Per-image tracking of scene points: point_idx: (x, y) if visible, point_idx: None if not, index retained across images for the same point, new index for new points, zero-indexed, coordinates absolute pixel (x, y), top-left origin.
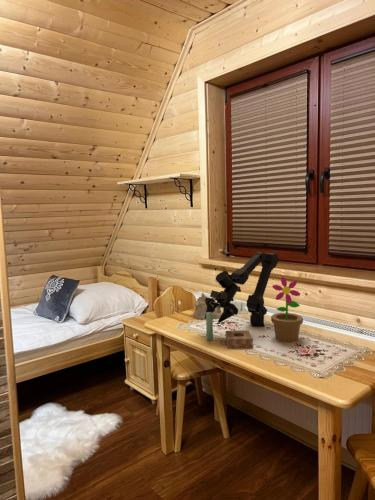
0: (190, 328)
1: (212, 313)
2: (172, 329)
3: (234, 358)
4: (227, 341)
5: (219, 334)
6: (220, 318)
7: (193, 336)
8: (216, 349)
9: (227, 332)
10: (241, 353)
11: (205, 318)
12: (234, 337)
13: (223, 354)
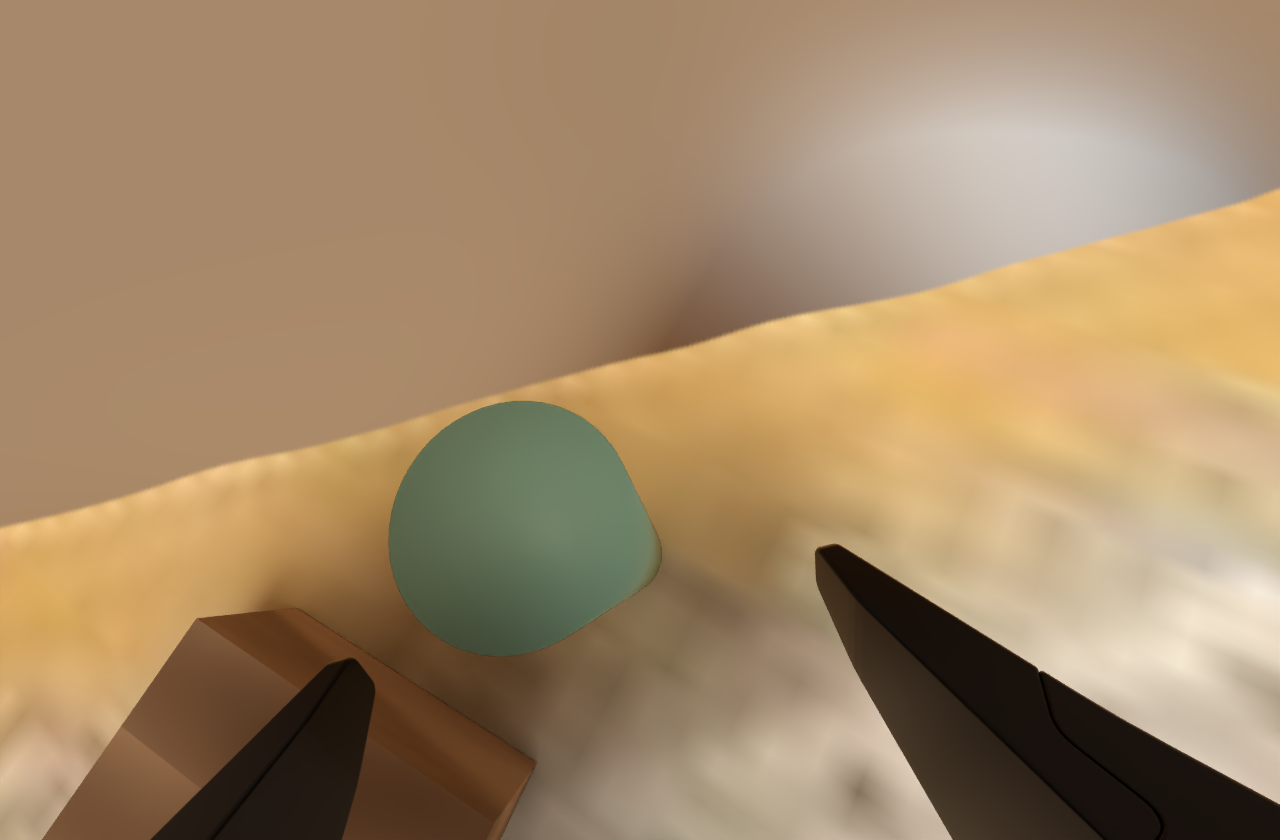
0: (1149, 531)
1: (432, 621)
2: (1161, 315)
3: (74, 516)
4: (273, 634)
5: (743, 794)
6: (233, 767)
7: (816, 433)
8: (347, 475)
9: (409, 801)
10: (92, 656)
11: (822, 564)
12: (171, 761)
13: (210, 473)
